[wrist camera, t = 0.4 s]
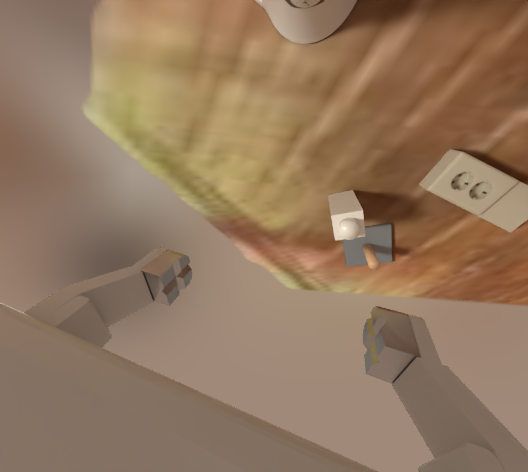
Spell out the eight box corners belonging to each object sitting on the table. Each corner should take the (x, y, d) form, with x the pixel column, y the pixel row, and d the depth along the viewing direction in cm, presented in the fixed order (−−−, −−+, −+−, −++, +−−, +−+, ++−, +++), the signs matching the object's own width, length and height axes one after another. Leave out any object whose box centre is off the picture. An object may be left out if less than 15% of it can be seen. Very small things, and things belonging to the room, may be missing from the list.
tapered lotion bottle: (327, 195, 44) (331, 220, 33) (352, 190, 43) (365, 214, 32) (331, 216, 46) (336, 246, 35) (355, 211, 45) (367, 242, 34)
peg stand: (341, 230, 47) (345, 248, 41) (390, 222, 44) (403, 241, 38) (346, 264, 52) (350, 285, 45) (391, 260, 48) (402, 282, 42)
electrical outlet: (514, 235, 37) (427, 190, 36) (497, 225, 40) (417, 184, 40) (560, 201, 33) (463, 151, 33) (537, 193, 36) (449, 148, 36)
